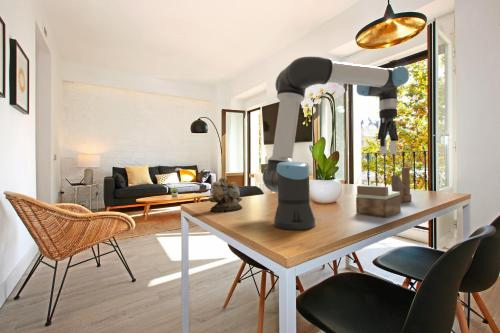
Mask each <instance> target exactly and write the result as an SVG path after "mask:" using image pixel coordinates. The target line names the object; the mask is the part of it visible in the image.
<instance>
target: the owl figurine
mask: <svg viewBox="0 0 500 333" xmlns="http://www.w3.org/2000/svg"><path fill="white" fill-rule="evenodd" d="M211 188H212V190H211V196H210V197H208V200H209V202H210V203H215V204H214V205H213V206H211V208H210V209H211V210H210V209H209V212H212V213H217V214H218V213H219V214H221V213H232V212H237V211H239V210H240V211H241V210H242V209H243V206H242V205H241V204H240V202H241V201H243V197H240V193H241V192H240V188H239V187H238V184H237V182H236V181H231V182H230V183H229V184H228V178H227V177H225V176H221V177H220V178H219V179H218V180H216V181H213V183H212V185H211Z"/></svg>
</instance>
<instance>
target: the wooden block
mask: <svg viewBox="0 0 500 333" xmlns="http://www.w3.org/2000/svg"><path fill="white" fill-rule="evenodd" d="M410 173H411V172H410V167H401V178H400V177H399V175H391V177H390V178H391V191H393V192H400V203H401V204H402V203H407V202H412V193H411V180H410V179H411V178H410V176H411V175H410Z"/></svg>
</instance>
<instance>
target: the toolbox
mask: <svg viewBox="0 0 500 333" xmlns="http://www.w3.org/2000/svg"><path fill="white" fill-rule="evenodd" d="M355 202H356V203H355V207H356V209H355V211H356V214H357V215H361V216H362V215H363V216H371V217H379V218H389V217H391V216H392V215H395V214H397V213H400V212H401V211H402V208H401V204H402V203H400V195H397V196H394V197H391V198H388V199H386V200H385V199H372V198H360V197H355Z"/></svg>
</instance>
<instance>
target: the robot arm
mask: <svg viewBox="0 0 500 333" xmlns="http://www.w3.org/2000/svg"><path fill="white" fill-rule="evenodd" d="M409 74H410V73H409V70H408V68H407V67H406V66H403V65H399V66H395V67H394V68H386V67H385V68H384V67H377V66H370V65H362V64H353V63H349V62H340V61H333V60H332V59H331V58H329V57H325V56H324V57H323V56H322V57H321V56H302V57H298V58H296V59H294V60H293V61H292V62H290V64H289V65H287V67H285V68H284V69H283V70H281V71H280V72H279V73H278V76H277V77H276V80H275V91H276V93H277V94H276V98H277V99H278V101H279V104H278V111H277V119H276V126H275V131H274V132H275V134H274V141H273V148H272V155H271V156H270V157H269V158H268V159H267V165H266V167H265V169H264V171H263V173H262V182H263V184H264V186H265V188H267V189H268V190H269V191H271V192H273V193H277V207H276V212H275V215H274V218H273V226H274V227H276V228H278V229H283V230H288V231H289V230H291V231H301V230H308V229H312V228H314V227H315V226H316V218H315V216H314V212H313V209H312V206H311V204H310V203H311V201H310V199H311V198H310V195H311V194H310V170H309V165H308V164H307V163H305V162H301V161H295V160H294V158H293V156H294V151H295V150H294V148H295V141H296V134H297V127H298V120H299V111H300V104H301V103H302V102H303V101H304V100H305V93H306V89H307V88H309V87H312V86H315V85H326V84H328V83H332V84H343V85H355V86H356V93H357V94H358V95H359V96H363V97H377V98H378V99H379V100H378V101H379V103H378V105H379V106H378V109H379V112H378V113H379V115H378V116H379V119H380V121H379V122H380V123H379V126H378V133H377V140H378V141H379V155H382V154H383V155H387V154H388V147H387V145H388V140H387V135H389V139H390V141H389V154H390V155H398V154H397V141H399V135H398V130H397V124H396V123H397V121H396V120H394V119H395V118H397V117H398V108H397V107H398V103H399V100H398V88H400V87H401V86H403V85H405V84H406V83H407V82H408V81H409V79H410V75H409Z"/></svg>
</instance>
